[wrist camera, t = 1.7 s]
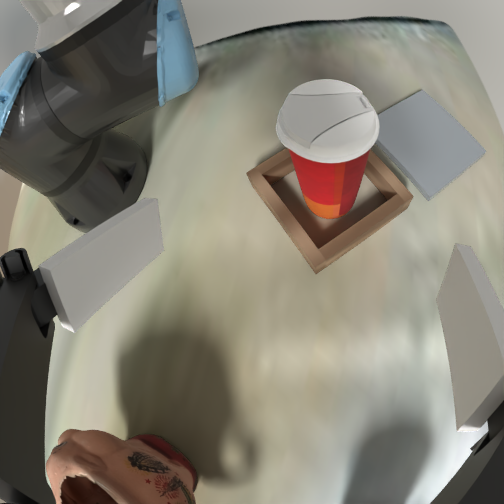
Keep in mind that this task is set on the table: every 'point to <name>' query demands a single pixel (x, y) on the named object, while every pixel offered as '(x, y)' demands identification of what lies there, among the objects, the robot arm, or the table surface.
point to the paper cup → (328, 142)
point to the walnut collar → (352, 236)
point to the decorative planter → (119, 470)
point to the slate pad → (426, 143)
